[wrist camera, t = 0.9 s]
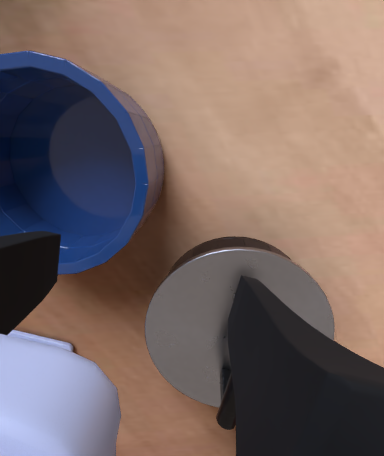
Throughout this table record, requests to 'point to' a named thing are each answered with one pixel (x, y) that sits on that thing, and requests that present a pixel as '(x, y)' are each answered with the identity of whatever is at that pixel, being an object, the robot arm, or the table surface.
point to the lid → (220, 318)
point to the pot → (74, 158)
